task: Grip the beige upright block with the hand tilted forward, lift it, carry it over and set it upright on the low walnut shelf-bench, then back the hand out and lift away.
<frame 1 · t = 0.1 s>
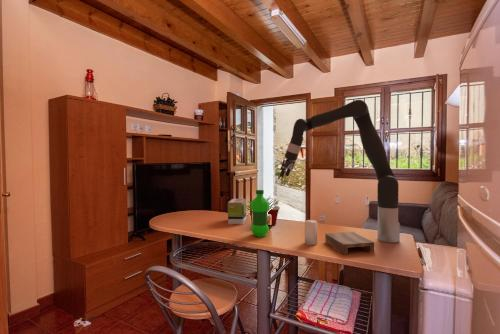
hand: (284, 176, 160), 31 cm above the table, tool tilted 20°, fingers open, 8 cm apart
tea box: (237, 222, 174), on the table
plastic cup: (271, 225, 165), on the table
plastic bottle: (260, 235, 143), on the table
beige upright block: (310, 243, 130), on the table
shelf: (348, 247, 124), on the table
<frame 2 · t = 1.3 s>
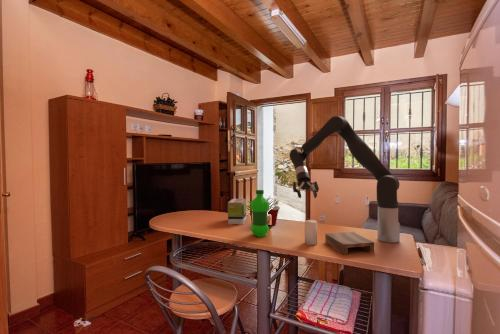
hand: (308, 197, 143), 21 cm above the table, tool tilted 45°, fingers open, 8 cm apart
nothing on the table moved.
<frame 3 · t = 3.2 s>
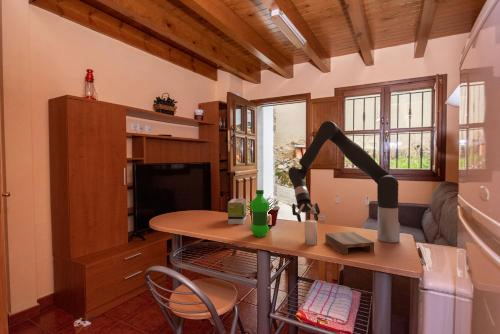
hand: (308, 221, 133), 10 cm above the table, tool tilted 45°, fingers open, 8 cm apart
nothing on the table moved.
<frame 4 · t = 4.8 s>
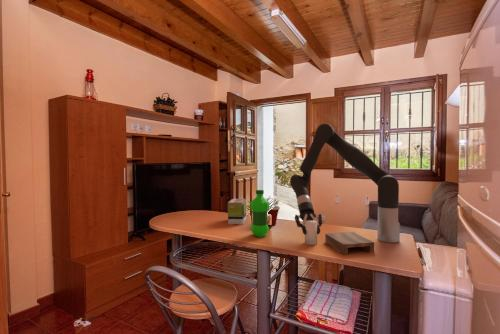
hand: (312, 233, 128), 5 cm above the table, tool tilted 45°, fingers closed on beige upright block, 6 cm apart
beige upright block: (310, 243, 130), on the table, touching gripper
everything else where it was.
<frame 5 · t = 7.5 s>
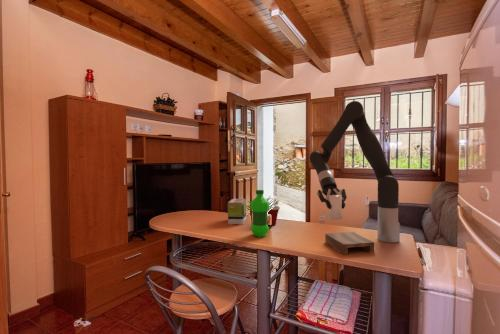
hand: (336, 207, 123), 19 cm above the table, tool tilted 45°, fingers closed on beige upright block, 6 cm apart
beige upright block: (335, 218, 125), point 13 cm above the table, touching gripper
everything else where it was.
when the fingers open (11 cm above the table, at t = 10.0 s): beige upright block drops 1 cm, resting on shelf.
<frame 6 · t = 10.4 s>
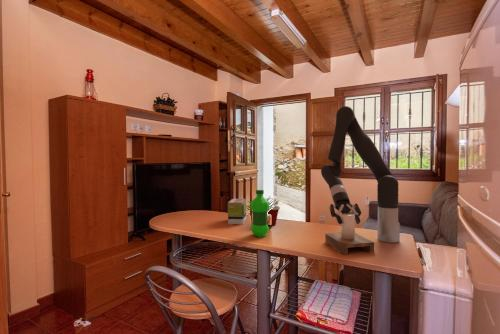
hand: (349, 223, 122), 12 cm above the table, tool tilted 45°, fingers open, 8 cm apart
beige upright block: (348, 237, 123), point 5 cm above the table, touching shelf
everything else where it was.
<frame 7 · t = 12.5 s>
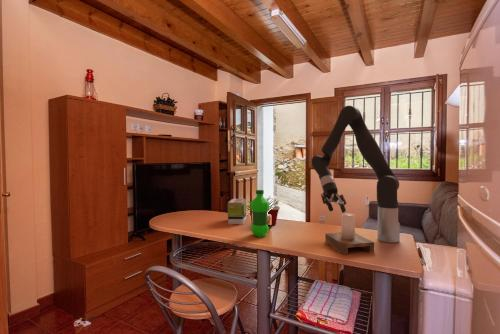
hand: (338, 211, 136), 14 cm above the table, tool tilted 40°, fingers open, 8 cm apart
nothing on the table moved.
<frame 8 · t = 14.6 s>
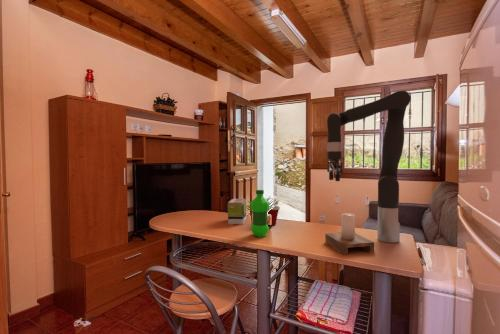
hand: (334, 180, 142), 30 cm above the table, tool pointing down, fingers open, 8 cm apart
nothing on the table moved.
at the end: beige upright block inside the target area on the shelf (0.1 cm from its centre), point 4.5 cm above the shelf's base; beige upright block tilted 0°; the gripper is holding nothing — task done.
